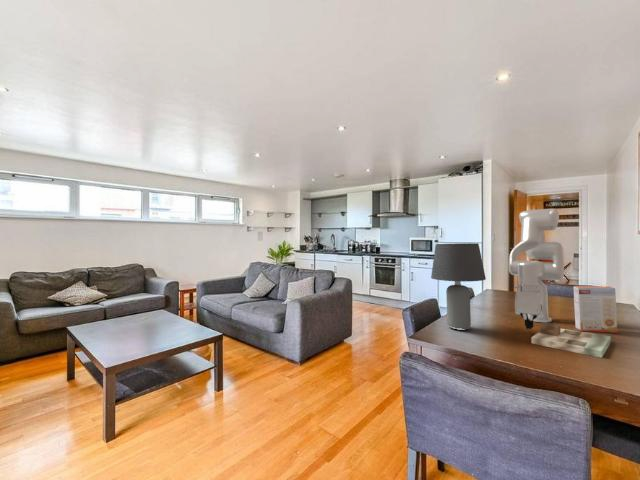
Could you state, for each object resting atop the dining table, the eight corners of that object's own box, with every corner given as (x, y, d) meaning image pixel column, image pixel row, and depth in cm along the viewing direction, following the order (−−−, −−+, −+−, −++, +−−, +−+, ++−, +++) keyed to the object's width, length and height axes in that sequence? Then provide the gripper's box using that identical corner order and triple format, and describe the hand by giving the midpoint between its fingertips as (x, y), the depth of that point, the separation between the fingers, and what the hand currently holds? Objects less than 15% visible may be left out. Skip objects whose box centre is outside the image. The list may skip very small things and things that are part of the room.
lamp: (486, 324, 156) (484, 242, 156) (488, 339, 134) (485, 243, 134) (435, 319, 168) (433, 243, 168) (429, 332, 146) (426, 244, 146)
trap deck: (531, 343, 127) (531, 337, 127) (547, 331, 143) (546, 326, 143) (601, 357, 110) (601, 351, 110) (610, 342, 126) (610, 336, 126)
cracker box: (610, 329, 143) (608, 286, 143) (618, 333, 137) (616, 288, 137) (574, 327, 147) (573, 285, 147) (580, 331, 142) (579, 287, 142)
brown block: (540, 333, 132) (540, 324, 132) (543, 330, 136) (543, 321, 136) (557, 336, 128) (557, 327, 128) (560, 333, 131) (560, 324, 131)
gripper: (506, 288, 141) (508, 326, 141) (545, 291, 130) (546, 333, 130) (512, 286, 146) (513, 323, 146) (550, 289, 135) (551, 330, 135)
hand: (529, 328), depth 138 cm, fingers closed
